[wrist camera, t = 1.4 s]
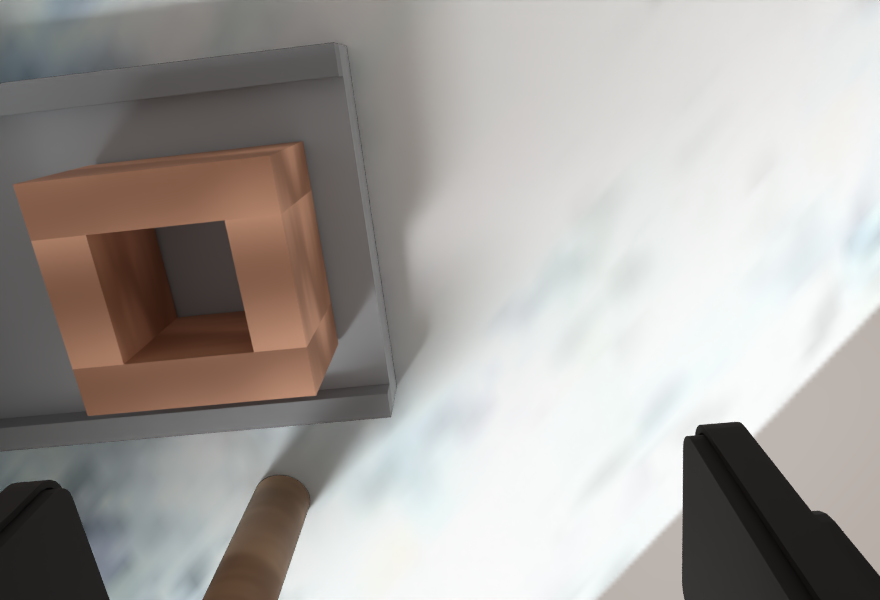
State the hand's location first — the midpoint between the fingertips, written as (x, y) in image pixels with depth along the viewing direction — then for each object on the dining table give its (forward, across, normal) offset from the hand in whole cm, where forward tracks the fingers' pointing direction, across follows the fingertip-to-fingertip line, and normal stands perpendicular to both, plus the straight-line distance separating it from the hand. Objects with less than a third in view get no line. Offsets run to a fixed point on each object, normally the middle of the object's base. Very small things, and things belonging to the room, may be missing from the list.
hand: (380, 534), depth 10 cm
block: (+19, +9, 0) cm, 21 cm away
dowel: (+21, +10, +14) cm, 27 cm away
